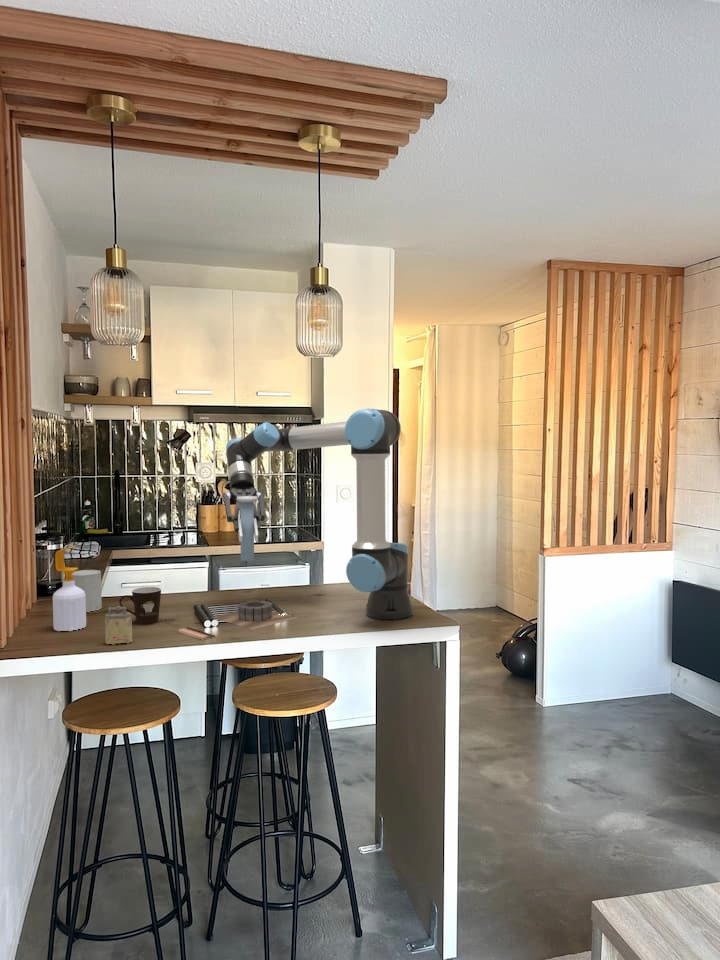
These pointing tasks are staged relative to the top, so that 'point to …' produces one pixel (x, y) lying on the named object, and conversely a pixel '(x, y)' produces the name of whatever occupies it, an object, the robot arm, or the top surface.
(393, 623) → the top surface
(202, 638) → the tile
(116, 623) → the beige rectangular bottle
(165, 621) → the top surface
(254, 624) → the eye plate
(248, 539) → the peg
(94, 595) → the grey tapered cup
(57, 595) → the soap bottle
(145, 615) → the coffee mug
